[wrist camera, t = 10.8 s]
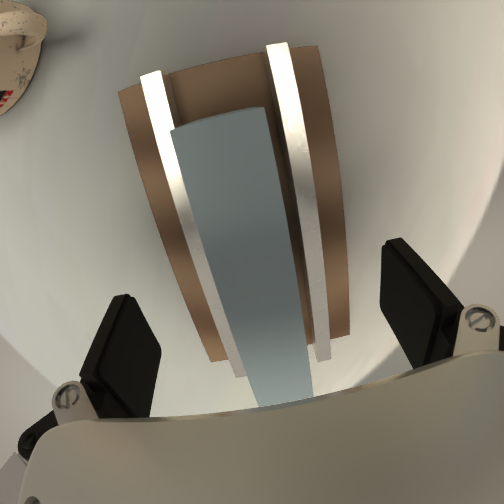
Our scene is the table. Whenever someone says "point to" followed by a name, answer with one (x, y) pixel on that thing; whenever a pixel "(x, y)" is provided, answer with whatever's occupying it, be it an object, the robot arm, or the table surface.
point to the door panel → (248, 246)
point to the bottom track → (289, 171)
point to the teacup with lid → (18, 49)
